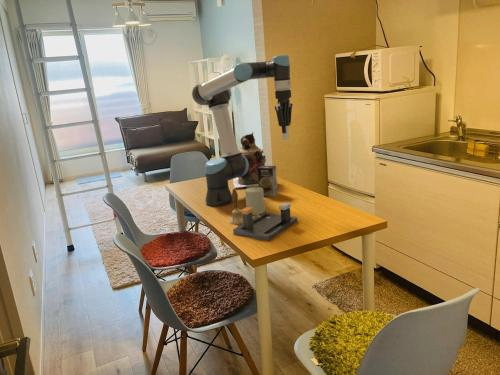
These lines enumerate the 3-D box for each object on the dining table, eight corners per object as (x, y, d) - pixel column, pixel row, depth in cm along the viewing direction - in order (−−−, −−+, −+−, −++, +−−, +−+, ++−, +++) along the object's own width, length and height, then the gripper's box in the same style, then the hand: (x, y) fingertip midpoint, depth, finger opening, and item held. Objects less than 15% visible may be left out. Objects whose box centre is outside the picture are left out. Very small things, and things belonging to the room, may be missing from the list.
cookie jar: (231, 180, 265) (227, 132, 256) (268, 176, 267) (264, 128, 258) (234, 190, 241) (229, 137, 232) (274, 185, 243) (271, 133, 234)
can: (267, 208, 203) (265, 186, 200) (261, 215, 194) (260, 191, 191) (250, 208, 206) (248, 185, 203) (244, 214, 198) (242, 191, 194)
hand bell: (235, 226, 183) (232, 192, 179) (225, 221, 190) (222, 189, 185) (250, 221, 188) (247, 188, 183) (240, 217, 194) (237, 185, 190)
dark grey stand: (233, 233, 174) (231, 212, 172) (263, 215, 193) (262, 196, 190) (268, 241, 164) (267, 218, 161) (297, 221, 182) (296, 201, 179)
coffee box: (259, 195, 226) (256, 167, 221) (262, 192, 231) (260, 165, 227) (274, 196, 222) (272, 168, 218) (277, 192, 228) (276, 165, 223)
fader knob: (242, 228, 175) (240, 210, 173) (248, 224, 179) (247, 206, 177) (248, 229, 173) (246, 211, 171) (254, 225, 177) (253, 207, 175)
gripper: (282, 90, 180) (285, 142, 187) (296, 88, 190) (299, 137, 197) (268, 91, 184) (272, 141, 191) (283, 89, 195) (286, 137, 201)
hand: (285, 139), depth 194 cm, fingers closed
